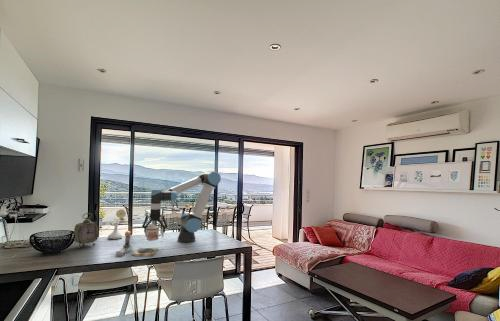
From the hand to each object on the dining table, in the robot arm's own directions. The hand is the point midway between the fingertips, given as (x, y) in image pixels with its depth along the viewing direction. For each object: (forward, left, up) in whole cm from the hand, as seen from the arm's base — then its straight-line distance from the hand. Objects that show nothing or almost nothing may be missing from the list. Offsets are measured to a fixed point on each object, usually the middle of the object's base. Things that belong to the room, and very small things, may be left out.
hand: (154, 236), depth 204 cm
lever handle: (+16, +10, -5) cm, 20 cm away
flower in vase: (+38, -26, -8) cm, 47 cm away
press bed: (+1, +15, -8) cm, 17 cm away
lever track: (+16, +15, -8) cm, 24 cm away
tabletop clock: (+50, +1, -8) cm, 51 cm away
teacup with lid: (0, 0, -2) cm, 2 cm away
